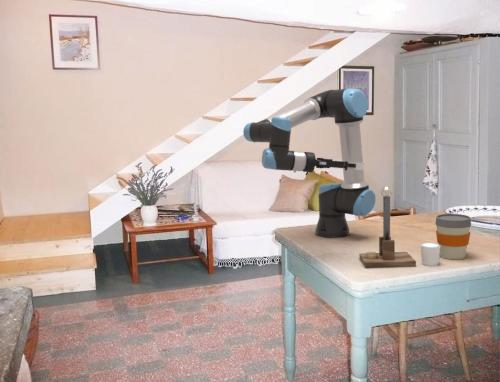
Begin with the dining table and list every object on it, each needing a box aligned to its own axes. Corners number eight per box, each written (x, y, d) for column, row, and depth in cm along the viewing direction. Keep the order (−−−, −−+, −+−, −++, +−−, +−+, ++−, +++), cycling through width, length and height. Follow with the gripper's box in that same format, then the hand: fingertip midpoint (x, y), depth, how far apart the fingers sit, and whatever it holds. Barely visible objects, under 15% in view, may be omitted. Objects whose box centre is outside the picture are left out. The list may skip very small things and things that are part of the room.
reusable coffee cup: (454, 249, 207) (455, 212, 205) (477, 257, 195) (479, 218, 193) (427, 253, 203) (428, 215, 201) (450, 262, 191) (450, 222, 189)
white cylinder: (421, 266, 189) (421, 247, 188) (419, 260, 195) (419, 242, 194) (441, 266, 187) (441, 247, 186) (438, 260, 194) (439, 242, 193)
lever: (380, 249, 196) (379, 185, 192) (390, 249, 196) (390, 185, 192) (382, 252, 192) (382, 187, 188) (393, 252, 192) (393, 187, 188)
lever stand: (359, 258, 201) (359, 235, 200) (406, 256, 200) (406, 233, 199) (365, 268, 189) (365, 244, 188) (415, 266, 189) (416, 242, 187)
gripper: (292, 170, 210) (342, 174, 215) (313, 173, 186) (368, 177, 191) (294, 151, 210) (343, 155, 215) (314, 151, 186) (370, 156, 190)
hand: (355, 166), depth 203 cm, fingers open, 13 cm apart
